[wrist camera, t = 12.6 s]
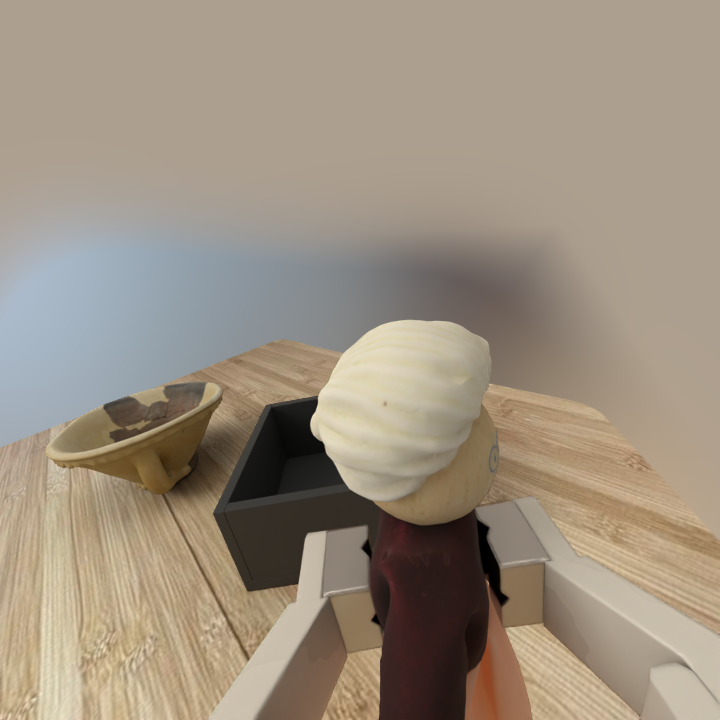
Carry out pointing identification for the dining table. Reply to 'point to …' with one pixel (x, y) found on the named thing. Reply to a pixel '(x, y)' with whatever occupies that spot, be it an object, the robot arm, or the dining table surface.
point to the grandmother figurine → (425, 515)
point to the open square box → (285, 497)
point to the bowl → (141, 435)
